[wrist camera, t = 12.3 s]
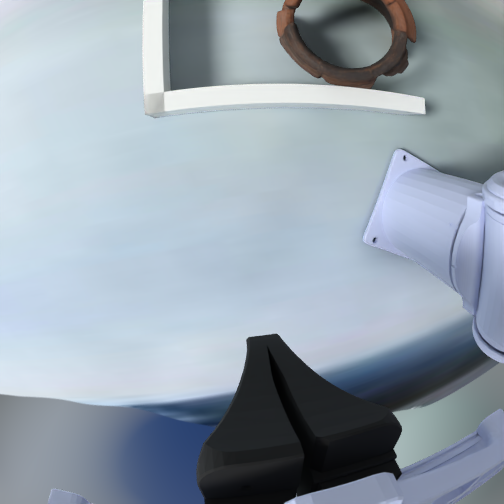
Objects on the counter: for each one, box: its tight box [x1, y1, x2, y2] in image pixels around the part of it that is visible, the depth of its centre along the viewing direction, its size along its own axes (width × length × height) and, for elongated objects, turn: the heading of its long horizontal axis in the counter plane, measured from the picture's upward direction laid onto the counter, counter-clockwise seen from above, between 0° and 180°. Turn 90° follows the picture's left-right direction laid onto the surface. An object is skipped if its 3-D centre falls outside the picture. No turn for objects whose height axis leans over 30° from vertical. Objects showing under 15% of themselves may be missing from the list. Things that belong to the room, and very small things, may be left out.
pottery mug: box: [277, 0, 416, 89], centre depth 14 cm, size 12×10×8 cm
